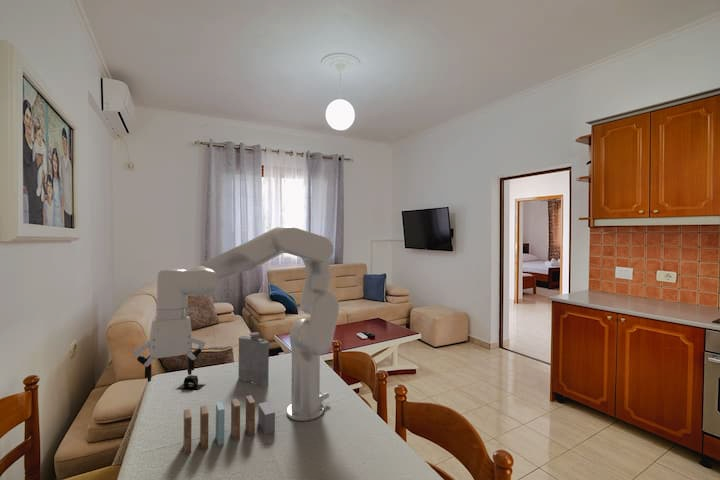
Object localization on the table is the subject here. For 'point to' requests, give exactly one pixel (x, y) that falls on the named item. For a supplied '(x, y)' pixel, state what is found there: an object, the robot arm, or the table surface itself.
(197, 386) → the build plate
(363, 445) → the table surface
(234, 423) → the domino
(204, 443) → the domino
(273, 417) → the end block
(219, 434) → the domino
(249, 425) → the domino
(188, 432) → the domino
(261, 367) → the hip flask
